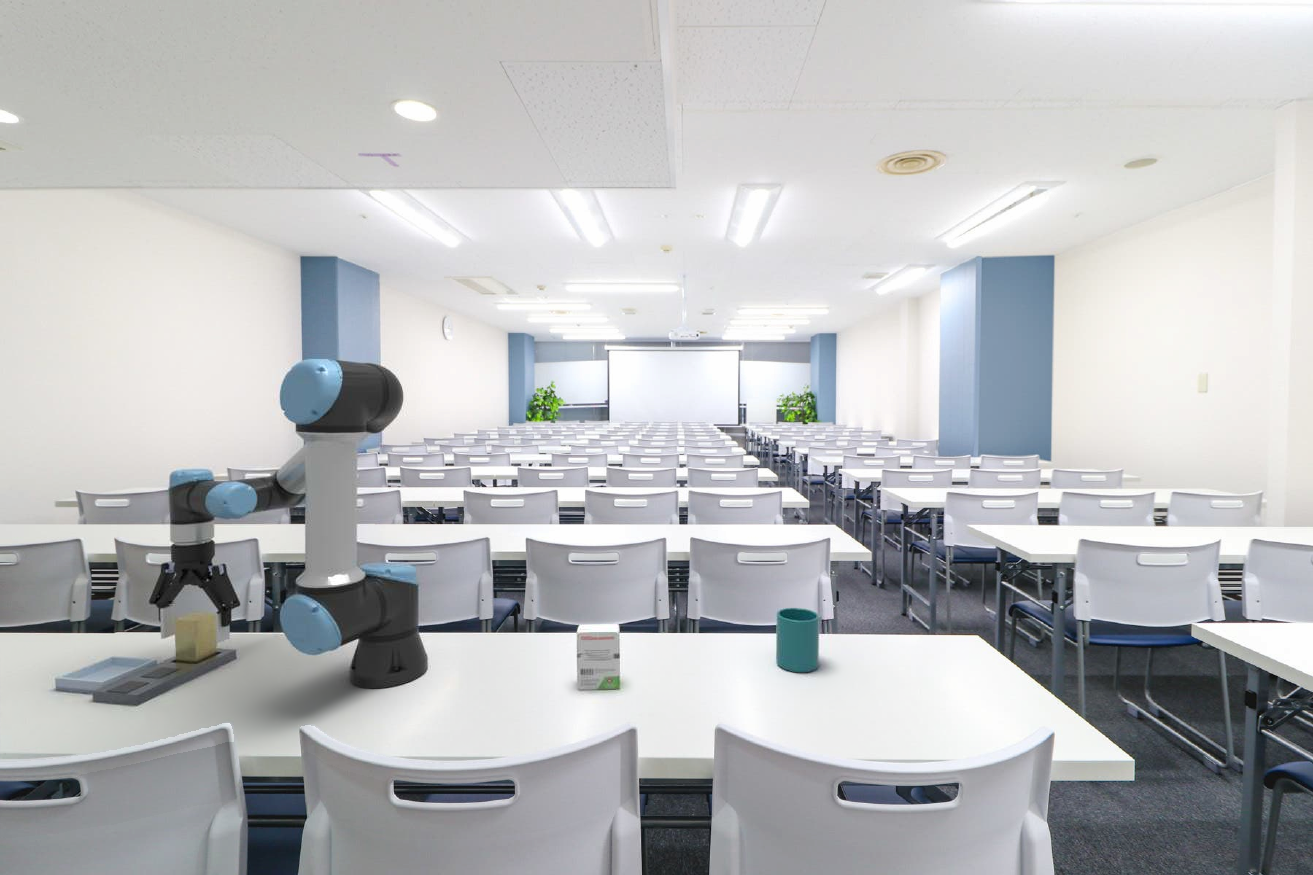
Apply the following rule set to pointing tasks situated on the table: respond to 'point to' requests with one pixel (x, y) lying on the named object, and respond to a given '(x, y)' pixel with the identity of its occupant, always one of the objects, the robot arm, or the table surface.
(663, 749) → the table surface
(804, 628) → the cup
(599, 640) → the ink box
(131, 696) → the grey slotted plate
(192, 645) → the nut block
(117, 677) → the tray
